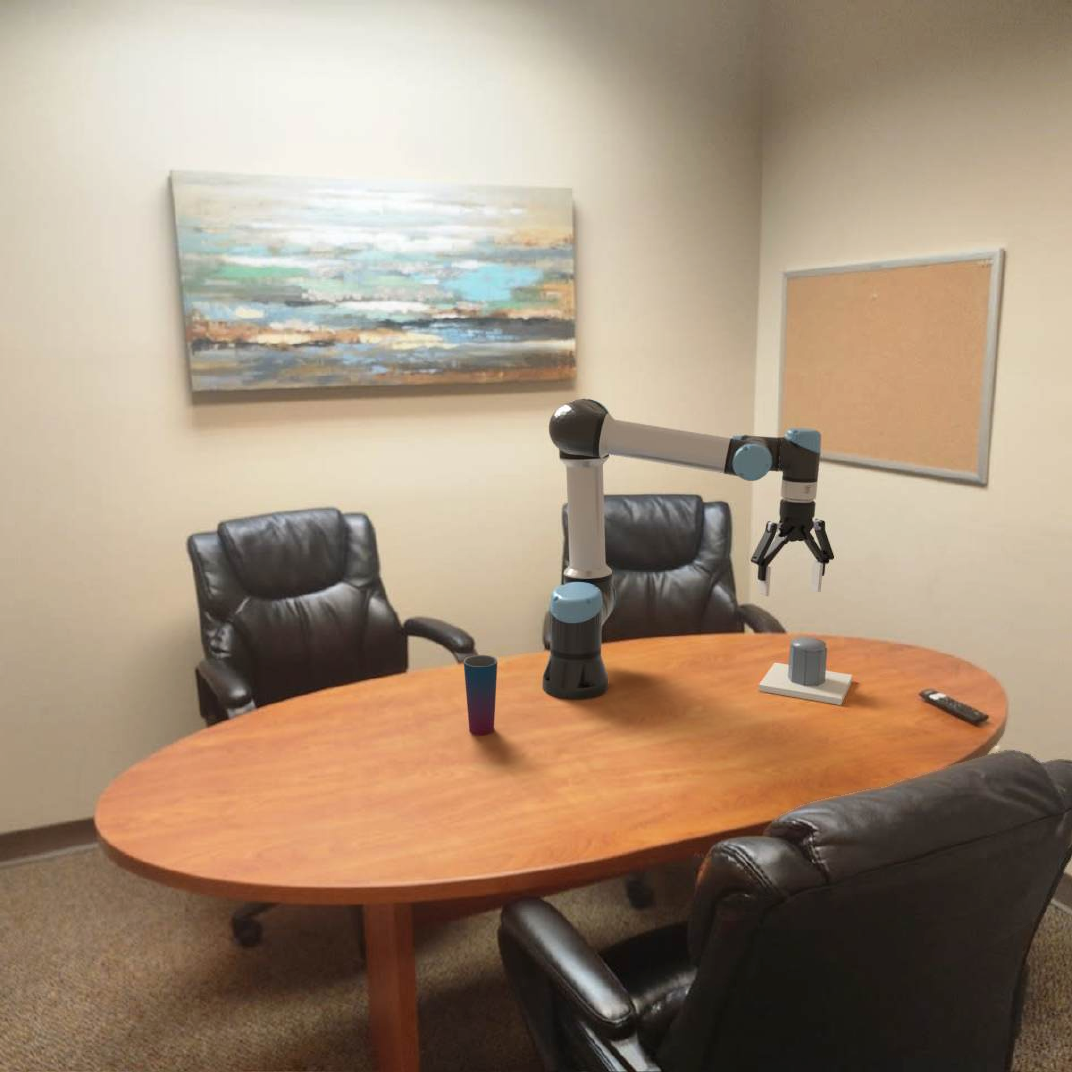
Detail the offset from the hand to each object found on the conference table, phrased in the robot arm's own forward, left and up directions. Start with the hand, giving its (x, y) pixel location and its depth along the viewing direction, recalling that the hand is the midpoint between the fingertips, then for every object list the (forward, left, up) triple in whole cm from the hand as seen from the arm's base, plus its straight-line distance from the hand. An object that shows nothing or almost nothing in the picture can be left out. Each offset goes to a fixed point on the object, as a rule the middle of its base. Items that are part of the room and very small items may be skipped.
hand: (789, 592), depth 199 cm
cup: (-50, -52, -23) cm, 76 cm away
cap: (+4, +2, -21) cm, 22 cm away
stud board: (+4, +2, -22) cm, 23 cm away
